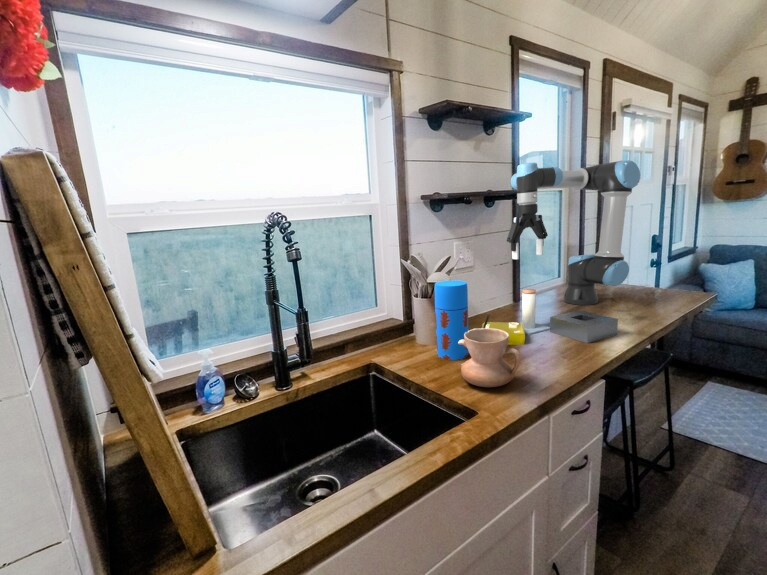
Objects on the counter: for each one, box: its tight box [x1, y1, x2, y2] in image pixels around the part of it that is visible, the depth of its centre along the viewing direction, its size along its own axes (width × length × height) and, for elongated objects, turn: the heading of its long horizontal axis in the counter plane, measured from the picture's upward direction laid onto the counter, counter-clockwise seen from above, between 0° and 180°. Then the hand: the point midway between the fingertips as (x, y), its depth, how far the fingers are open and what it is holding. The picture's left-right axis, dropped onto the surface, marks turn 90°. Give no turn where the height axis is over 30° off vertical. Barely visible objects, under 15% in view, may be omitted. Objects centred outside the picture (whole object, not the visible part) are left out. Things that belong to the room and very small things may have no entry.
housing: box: [549, 309, 619, 344], centre depth 143 cm, size 16×16×6 cm
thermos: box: [434, 279, 469, 361], centre depth 129 cm, size 11×11×25 cm
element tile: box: [481, 321, 526, 346], centre depth 144 cm, size 15×15×5 cm
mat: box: [520, 321, 550, 336], centre depth 153 cm, size 12×12×1 cm
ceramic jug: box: [458, 327, 522, 388], centre depth 107 cm, size 18×14×14 cm
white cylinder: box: [521, 288, 537, 329], centre depth 151 cm, size 5×5×15 cm
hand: (527, 257), depth 155 cm, fingers open, 13 cm apart
